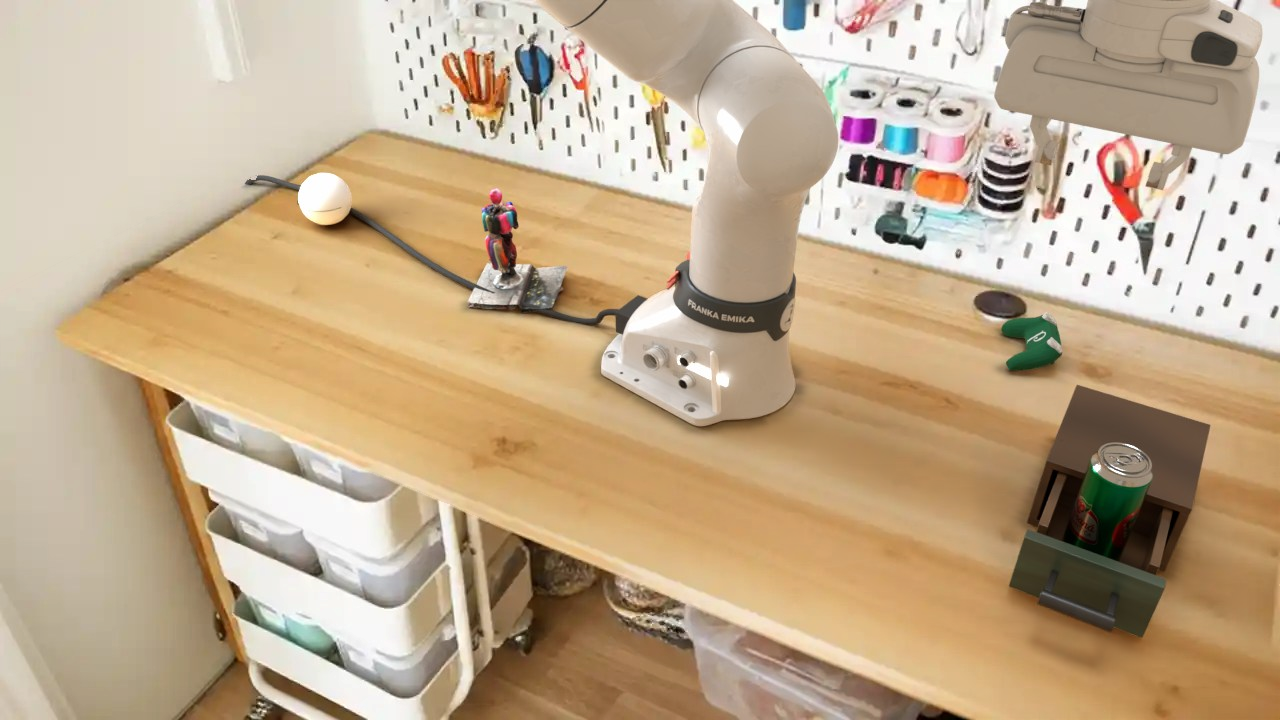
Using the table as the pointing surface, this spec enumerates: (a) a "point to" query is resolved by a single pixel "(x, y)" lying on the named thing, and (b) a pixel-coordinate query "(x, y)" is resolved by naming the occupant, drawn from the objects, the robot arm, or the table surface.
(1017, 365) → the gaming controller
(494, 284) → the statue
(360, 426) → the table surface
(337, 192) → the white egg shape
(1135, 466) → the soda can
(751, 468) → the table surface
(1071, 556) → the drawer
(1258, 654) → the table surface
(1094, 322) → the table surface
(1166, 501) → the cabinet
